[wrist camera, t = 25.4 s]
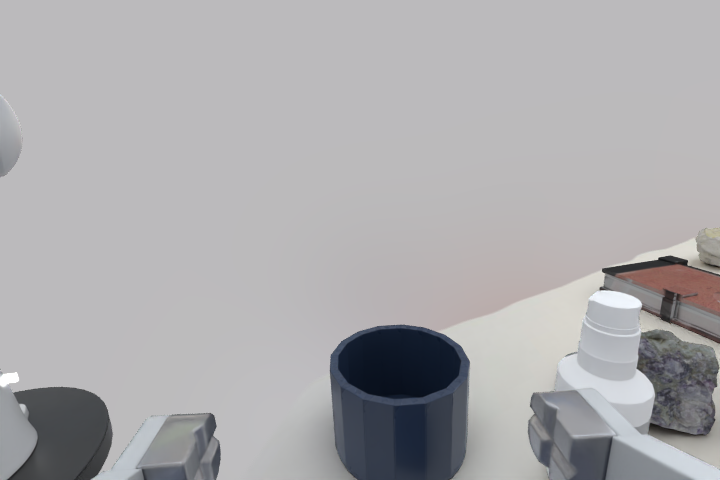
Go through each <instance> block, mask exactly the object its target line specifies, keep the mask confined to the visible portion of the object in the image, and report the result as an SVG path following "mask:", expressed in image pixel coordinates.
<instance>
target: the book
mask: <svg viewBox="0 0 720 480" xmlns="http://www.w3.org/2000/svg"><path fill="white" fill-rule="evenodd" d="M687 263H688V260H684V259H681V258H677V257H674V256H665V257H659V259H658V260H654V261H648V262H641V263H635V264H629V265H622V266H616V267H610V268H603V269H602V272H603V273H605V279H604V286H603V287H600V291H601V290H605V291H616V292H621V293H625V294H628V295H631V296H633V297H635V298H637V299H639V300H640V301H641V303H642V308H641V309H643V310H645V311H647V312H650V313H652V314H654V315H657V316H659V317H661V319H662V320H665V321H667V322H673V323H675V324H677V325H679V326H682V327H684V328H686V329H689V330H691V331H693V332H695V333H698V334H700V335H702V336H704V337H707V338H709V339H711V340H714V341H716V342H718V343H720V275H719V274H715V273H712V272H708V271H705V270H702V269H698V268H695V267H691V266H688V265H687Z"/></svg>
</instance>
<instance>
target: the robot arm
mask: <svg viewBox="0 0 720 480" xmlns="http://www.w3.org/2000/svg"><path fill="white" fill-rule="evenodd" d="M21 148H22V130H21V126H20V123H19V120H18V118H17V116H16V114H15V112H14V111H13V109H12V107H11V106H10V104H9V103H8V102H7V100H6V99H5V98H4V97H3V96H2V95H1V94H0V177H1V176H5V175H6V174H7V173H8V172H9V171H10V170H11V169H12V168H13V166H14V165H15V164H16V162H17V160H18V158H19V155H20V153H21ZM18 380H19V379H18V376H17V374H16V373H11V374H4V375H3V373H2V371H1V369H0V480H7V479H9V478H10V477H11V476H12V475H13V474H14V473H15V472H16V471H17V470H18V469H19V468H20V467H21V466H22V465H23V464H24V463H25V461H26V460H27V459H28V458H29V456H30V455H31V453H32V452H33V450H34V448H35V446H36V443H37V439H38V435H37V431H36V430H35V428H34V427H33V426H32V425H31V424H30V422H29V421H28V417H29V411H28V409H27V407H26V406H25V405H24V404H19V403H18V402H17V400H16V398H15V396H14V394H13V392H12V390H11V388H10V386H9V384H8V383H11V382H17V381H18ZM530 407H531V408H532V410H533V411H534V413H535V414H534V415H533V416H532V417H531V419H530V420H529V424H528V434H529V440H530V444H531V447H532V449H533V452H534V454H535V456H536V457H537V459H538V461H539V462H540V463H542V464H543V465H545V466H546V467H548V468H549V477H548V478H549V479H550V480H720V469H718V468H716V467H714V466H712V465H710V464H708V463H706V462H704V461H702V460H700V459H698V458H696V457H694V456H692V455H689V454H687V453H685V452H683V451H681V450H679V449H677V448H675V447H673V446H671V445H669V444H667V443H665V442H663V441H661V440H659V439H656V438H654V437H652V436H650V435H648V434H645V435H641V434H640V433H639V432H638V431H637V430H636V429H635V428H634V427H633V426H632V425H631V424H630V423H629V422H628V421H627V420H626V419H625V418H624V417H623V416H622V415H621V414H620V413H619V412H618V411H617V410H616V409H615V408H614V407H613V406H612V405H611V404H610V403H609V402H608V401H607V400H606V399H605V398H604V397H603V396H602V395H601V394H600V393H599V392H598V391H597V390H595V389H593V388H584V389H573V390H566V391H552V392H538V393H533V395H532V397H531V403H530ZM215 429H216V422H215V417H214V415H213V414H211V413H203V414H177V415H161V416H151V417H149V418H147V419H146V420H145V421H144V423H143V424H142V426H141V427H140V429H139V430H138V431H137V433H136V434H135V436H134V437H133V439H132V440H131V441H130V443H129V444H128V446H127V447H126V449H125V450H124V451H123V453H122V454H121V456H120V457H119V459H118V460H117V461H116V463H115V464H114V466H113V467H112V469H111V470H110V471H103V472H101V473H100V474H98V475H97V476H96V477H94V478H93V479H91V480H216V478H217V475H218V471H219V465H220V444H219V441H218V440H217V439H216V438H215V437H214V436H213V434H214V431H215Z"/></svg>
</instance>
